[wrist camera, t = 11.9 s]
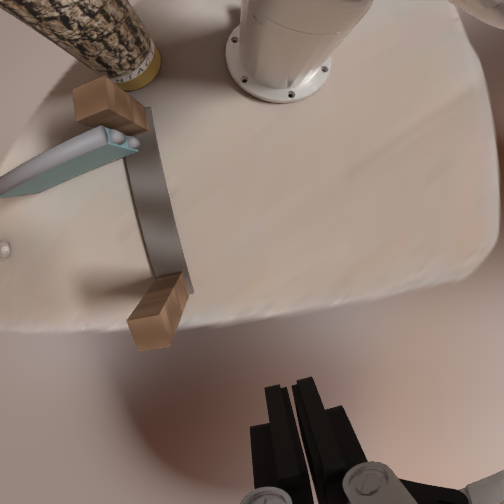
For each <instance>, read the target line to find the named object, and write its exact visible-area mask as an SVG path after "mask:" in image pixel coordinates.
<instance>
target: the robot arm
mask: <svg viewBox="0 0 504 504" xmlns="http://www.w3.org/2000/svg"><path fill="white" fill-rule="evenodd" d="M447 1H448V2H450V3H452V4H454V5H455V6H457V7H459V8H461V9H463V10H464V11H466V12H467V13H469V14H471V15H472V16H474V17H476V18H478V19H479V20H481V21H483V22H485V23H487V24H489V25H492V26H494V27H497V28H500V29H504V0H447ZM372 2H373V0H241V18H240V24H239V25H238V26H237V27H236V28H235V29H234V30H233V32H232V33H231V35H230V36H229V39H228V41H227V44H226V51H225V56H226V63H227V67H228V70H229V72H230V74H231V76H232V78H233V79H234V80H235V82H236V83H237V84H238V85H239V86H240V87H241V88H242V89H243V90H244V91H246V92H248V93H249V94H251V95H252V96H254V97H257V98H259V99H261V100H264V101H269V102H273V103H292V102H297V101H301V100H304V99H306V98H308V97H310V96H312V95H313V94H314V93H316V92H317V91H318V90H319V89H320V88H321V87H322V86H323V85H324V84H325V82H326V81H327V79H328V78H329V75H330V73H331V69H332V53H333V52H334V51H335V49H336V48H337V47H338V46H339V45H340V43H341V42H342V41H343V40H344V39H345V38H346V36H347V35H348V34H349V33H350V32H351V30H352V29H353V28H354V27H355V26H356V25H357V24H358V22H359V21H360V20H361V19H362V18H363V16H364V15H365V14H366V13H367V12H368V10H369V8H370V7H371V5H372ZM234 41H235V42H237V43H233V42H234ZM322 70H324V71H325V72H323V71H322ZM243 80H246V81H247V82H246V83H243V82H242V81H243ZM288 95H292V98H290V97H288ZM292 391H293V396H294V401H295V406H296V412H297V417H298V422H299V427H300V432H301V437H302V441H303V445H304V449H305V453H306V457H307V461H308V464H309V468H310V472H311V476H312V480H313V484H314V487H315V491H316V495H317V499H318V503H319V504H504V470H502V471H500V472H498V473H496V474H493V475H491V476H489V477H486V478H484V479H481V480H479V481H476V482H474V483H471V484H468V485H467V486H466V488H463V489H460V490H456V489H450V488H444V487H437V486H432V485H427V484H421V483H416V482H411V481H407V480H403V479H399V478H397V476H396V475H395V474H394V473H393V471H392V470H391V469H390V468H389V467H388V466H387V465H385V464H382V463H380V462H374V461H372V462H368V461H367V459H366V457H365V454H364V452H363V450H362V448H361V445H360V443H359V441H358V439H357V437H356V434H355V433H354V430H353V428H352V426H351V423H350V421H349V419H348V417H347V415H346V413H345V410H344V408H343V407H342V406H337V407H334V408H330V409H326V410H325V409H324V406H323V404H322V401H321V398H320V396H319V393H318V391H317V388H316V385H315V383H314V380H313V378H312V377H308V378H305V379H300V380H297V384H296V385H292ZM265 395H266V401H267V408H268V414H269V421H270V423H267V424H262V425H256V426H251V427H250V436H251V450H252V463H253V475H254V487H255V490H253V491H251V492H249V493H248V494H247V495H246V496H245V497H244V498H243V499H242V500H241V503H240V504H314V501H313V496H312V490H311V485H310V479H309V474H308V470H307V466H306V461H305V457H304V453H303V449H302V446H301V442H300V438H299V434H298V430H297V426H296V422H295V418H294V414H293V410H292V406H291V402H290V398H289V394H288V390H287V387H284V388H280V385H274V386H269V387H265Z"/></svg>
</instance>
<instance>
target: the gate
mask: <svg viewBox="0 0 504 504" xmlns="http://www.w3.org/2000/svg"><path fill="white" fill-rule="evenodd" d="M140 147H141V141H140V140H139V139H137V138H134V137H132V136H126V135H125V134H124V133H122V132H119V131H117V130H114V129H108V128H105V127H104V126H103V125H100V126H98V127H96V128H93V129H91V130H89V131H87V132H84V133H82V134H80V135H78V136H76V137H73V138H71V139H69V140H67V141H65V142H63V143H61V144H59V145H57V146H55V147H53V148H51V149H49V150H47V151H45V152H43V153H41V154H39V155H38V156H36V157H34V158H32V159H30V160H29V161H27V162H25V163H23V164H21V165H20V166H18V167H16V168H15V169H13V170H11V171H10V172H8V173H6V174H5V175H3V176H1V177H0V198H6V197H13V196H20V195H27V194H35V193H40V192H42V191H44V190H46V189H48V188H51V187H53V186H55V185H57V184H59V183H61V182H64V181H66V180H68V179H70V178H73V177H75V176H77V175H80V174H82V173H85V172H87V171H89V170H92V169H94V168H97V167H99V166H102V165H104V164H107V163H110V162H112V161H115V160H118V159H120V158H123V157H126V156H128V155H131V154H134V153H137V152H138V149H139V148H140Z"/></svg>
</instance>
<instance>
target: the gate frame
mask: <svg viewBox="0 0 504 504" xmlns="http://www.w3.org/2000/svg"><path fill="white" fill-rule="evenodd" d="M72 91H73V101H74V110H75V118H76V122H79V123H82V124H85V125H88V126H91V127H94V128H96V127H98V126H100V125H103V126H104V127H105V128H108V129H114V130H117V131H119V132H122V133H124V134H125V135H126V136H132V137H134V138H137V139H139V140H140V141H141V147H140V148H139V149H138V152H137V153H134V154H131V155H128V156H126V157H125V158H126V163H127V168H128V173H129V177H130V182H131V187H132V191H133V195H134V200H135V204H136V208H137V212H138V216H139V220H140V224H141V228H142V232H143V235H144V239H145V243H146V246H147V250H148V254H149V257H150V261H151V264H152V267H153V271H154V274H155V278H156V281H155V282H154V284H153V285H152V286H151V288H150V289H149V290H148V292H147V293H146V295H145V296H144V297H143V299H142V300H141V301H140V303H139V304H138V306H137V307H136V308H135V310H134V311H133V312H132V314H131V315H130V317H129V318H128V319H127V323H128V326H129V328H130V331H131V334H132V336H133V339H134V341H135V343H136V346H137V348H138V351H145V350H151V349H158V348H165V347H170V346H171V343H172V341H173V338H174V335H175V332H176V329H177V327H178V324H179V321H180V318H181V316H182V313H183V310H184V308H185V305H186V302H187V300H188V297H189V294H193V293H194V290H193V287H192V283H191V280H190V276H189V273H188V269H187V265H186V262H185V258H184V254H183V250H182V247H181V243H180V239H179V235H178V231H177V227H176V223H175V219H174V215H173V211H172V207H171V203H170V198H169V194H168V190H167V186H166V181H165V177H164V172H163V168H162V163H161V158H160V153H159V149H158V144H157V139H156V134H155V129H154V123H153V118H152V113H151V107H146V108H145V107H144V106H143V105H141V104H140V103H139V102H137V101H136V100H135V99H134V98H132V97H131V96H130V95H128V94H127V93H126V92H125V91H123V90H122V89H121V88H119V87H118V86H117V85H115V84H114V83H113V82H111V81H110V80H109V79H107V78H106V77H105V76H102V77H100V78H97V79H95V80H93V81H90V82H88V83H86V84H83V85H81V86H79V87H77V88H75V89H72Z"/></svg>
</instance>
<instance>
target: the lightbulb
mask: <svg viewBox="0 0 504 504" xmlns="http://www.w3.org/2000/svg"><path fill="white" fill-rule="evenodd" d="M9 255H10V247H9V245H8V243H7V242H6V241H4V240H2V241H0V261H1V260H3V259H6V258H8V257H9Z"/></svg>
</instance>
